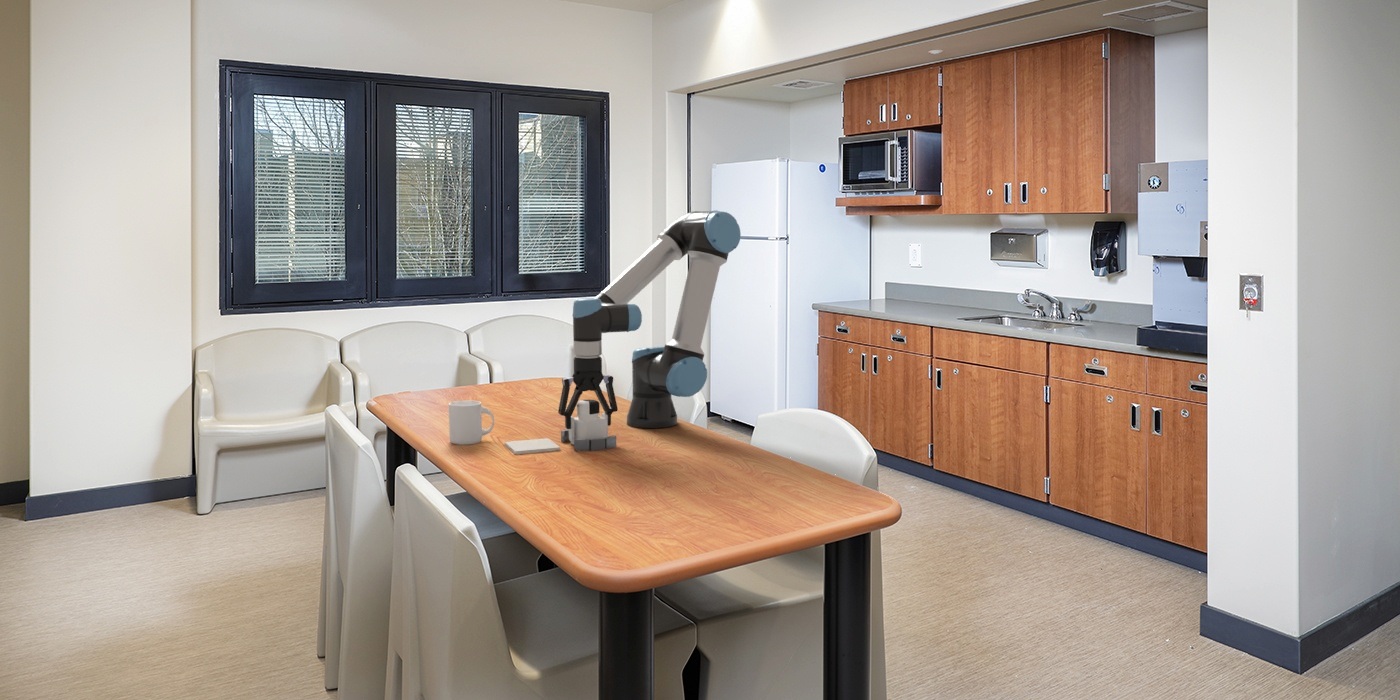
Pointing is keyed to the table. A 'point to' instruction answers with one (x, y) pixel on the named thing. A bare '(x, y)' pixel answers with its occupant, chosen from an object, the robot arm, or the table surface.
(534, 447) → the tile
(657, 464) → the table surface
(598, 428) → the medicine bottle
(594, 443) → the cradle
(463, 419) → the mug
